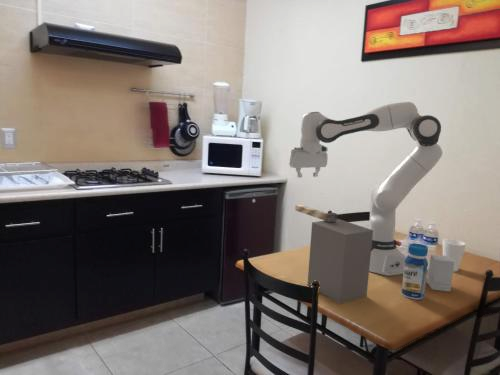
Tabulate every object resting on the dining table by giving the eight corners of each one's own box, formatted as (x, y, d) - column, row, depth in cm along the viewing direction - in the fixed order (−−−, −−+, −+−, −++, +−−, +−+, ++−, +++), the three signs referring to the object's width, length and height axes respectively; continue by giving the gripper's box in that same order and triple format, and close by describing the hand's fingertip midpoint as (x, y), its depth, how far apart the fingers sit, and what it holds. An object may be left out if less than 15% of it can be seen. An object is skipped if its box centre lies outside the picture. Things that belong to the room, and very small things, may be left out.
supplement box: (450, 292, 156) (454, 261, 154) (430, 289, 158) (434, 259, 156) (445, 284, 164) (449, 255, 161) (426, 282, 165) (430, 253, 163)
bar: (293, 210, 170) (294, 203, 169) (301, 209, 172) (301, 202, 171) (328, 222, 151) (329, 214, 151) (336, 221, 154) (337, 213, 153)
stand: (307, 285, 157) (312, 222, 152) (333, 279, 164) (338, 218, 160) (339, 303, 142) (345, 234, 137) (366, 296, 149) (373, 230, 145)
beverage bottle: (429, 299, 149) (435, 248, 145) (410, 301, 146) (416, 250, 143) (414, 289, 157) (420, 241, 153) (396, 291, 154) (401, 242, 151)
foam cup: (464, 269, 182) (468, 242, 180) (458, 274, 176) (462, 246, 173) (442, 263, 189) (446, 237, 187) (436, 268, 182) (439, 241, 180)
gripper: (296, 147, 173) (294, 178, 175) (330, 147, 184) (328, 177, 186) (287, 146, 178) (285, 176, 181) (321, 146, 189) (319, 175, 191)
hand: (307, 177), depth 183 cm, fingers open, 8 cm apart
